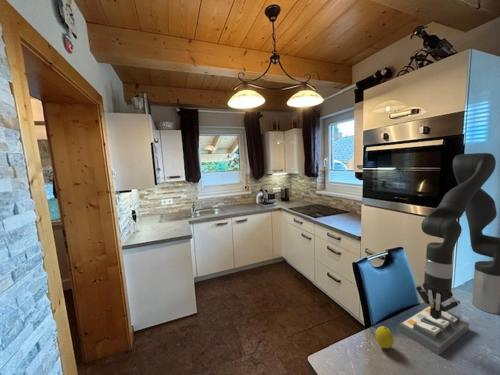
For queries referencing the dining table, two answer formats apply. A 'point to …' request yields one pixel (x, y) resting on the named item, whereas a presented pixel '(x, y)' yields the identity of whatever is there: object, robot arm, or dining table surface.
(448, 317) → the switch
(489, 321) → the dining table surface
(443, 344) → the switch unit
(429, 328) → the switch
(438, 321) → the switch mid
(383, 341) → the lemon
